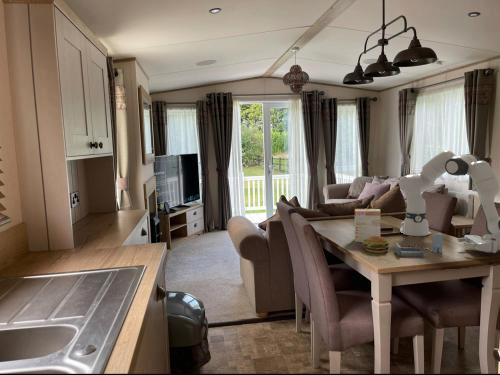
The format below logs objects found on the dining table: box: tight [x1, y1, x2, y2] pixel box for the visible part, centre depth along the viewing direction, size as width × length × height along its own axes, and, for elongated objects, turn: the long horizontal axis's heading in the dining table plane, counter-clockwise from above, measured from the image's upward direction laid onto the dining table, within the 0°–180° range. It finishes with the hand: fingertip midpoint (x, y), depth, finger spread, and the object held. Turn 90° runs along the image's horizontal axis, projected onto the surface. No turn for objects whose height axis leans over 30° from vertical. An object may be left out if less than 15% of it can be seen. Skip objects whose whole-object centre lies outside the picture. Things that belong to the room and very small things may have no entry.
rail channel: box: [394, 242, 425, 258], centre depth 208 cm, size 9×13×5 cm
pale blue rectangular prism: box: [431, 232, 444, 254], centre depth 211 cm, size 4×4×10 cm
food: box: [361, 235, 390, 254], centre depth 217 cm, size 14×14×8 cm
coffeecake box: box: [354, 208, 381, 243], centre depth 237 cm, size 15×7×20 cm, turn 74°
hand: (461, 242), depth 209 cm, fingers open, 8 cm apart
